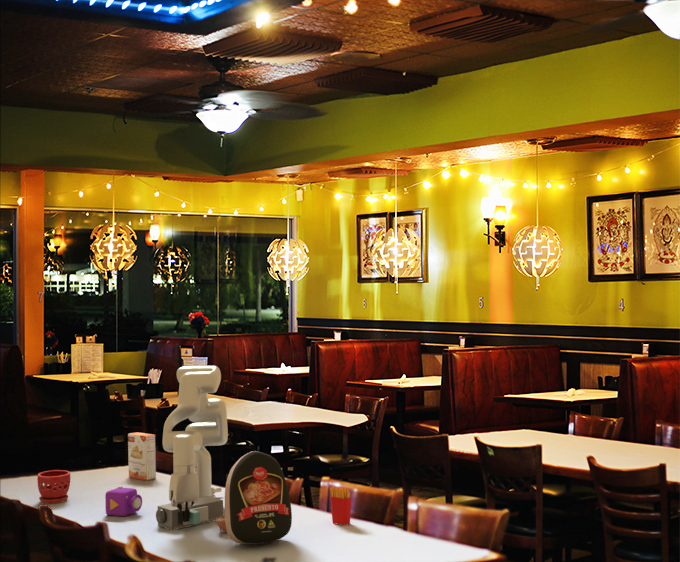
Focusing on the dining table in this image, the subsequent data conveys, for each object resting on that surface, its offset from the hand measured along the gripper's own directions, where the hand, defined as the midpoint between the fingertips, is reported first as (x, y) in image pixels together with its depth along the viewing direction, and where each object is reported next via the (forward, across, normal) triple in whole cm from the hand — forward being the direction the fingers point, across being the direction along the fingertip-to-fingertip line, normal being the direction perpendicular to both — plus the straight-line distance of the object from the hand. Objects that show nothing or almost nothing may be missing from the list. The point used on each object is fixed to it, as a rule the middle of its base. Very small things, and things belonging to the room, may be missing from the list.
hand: (185, 521), depth 305 cm
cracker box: (+4, -37, -100) cm, 106 cm away
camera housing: (+3, -8, -9) cm, 13 cm away
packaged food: (+4, -9, +32) cm, 33 cm away
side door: (+2, -6, -1) cm, 7 cm away
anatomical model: (+4, -17, +13) cm, 22 cm away
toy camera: (+4, +3, -39) cm, 39 cm away
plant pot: (+4, +14, -82) cm, 83 cm away
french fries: (+4, -45, +32) cm, 56 cm away
